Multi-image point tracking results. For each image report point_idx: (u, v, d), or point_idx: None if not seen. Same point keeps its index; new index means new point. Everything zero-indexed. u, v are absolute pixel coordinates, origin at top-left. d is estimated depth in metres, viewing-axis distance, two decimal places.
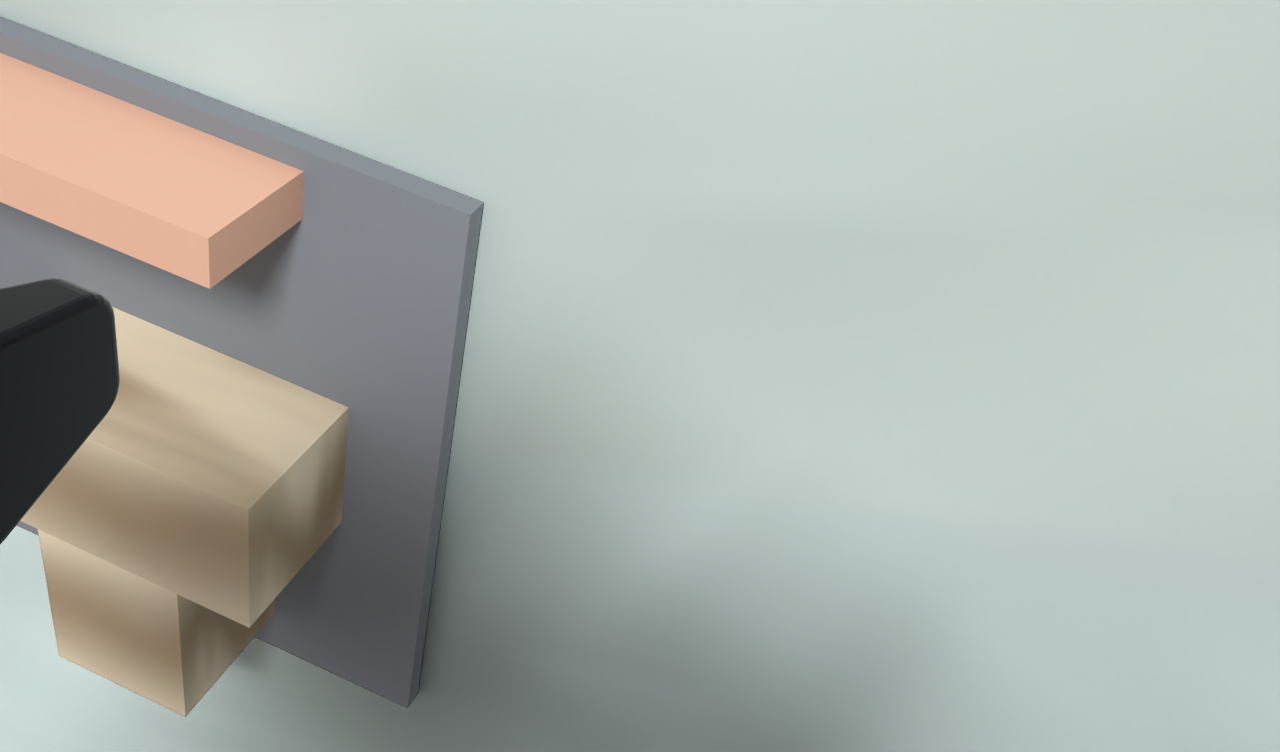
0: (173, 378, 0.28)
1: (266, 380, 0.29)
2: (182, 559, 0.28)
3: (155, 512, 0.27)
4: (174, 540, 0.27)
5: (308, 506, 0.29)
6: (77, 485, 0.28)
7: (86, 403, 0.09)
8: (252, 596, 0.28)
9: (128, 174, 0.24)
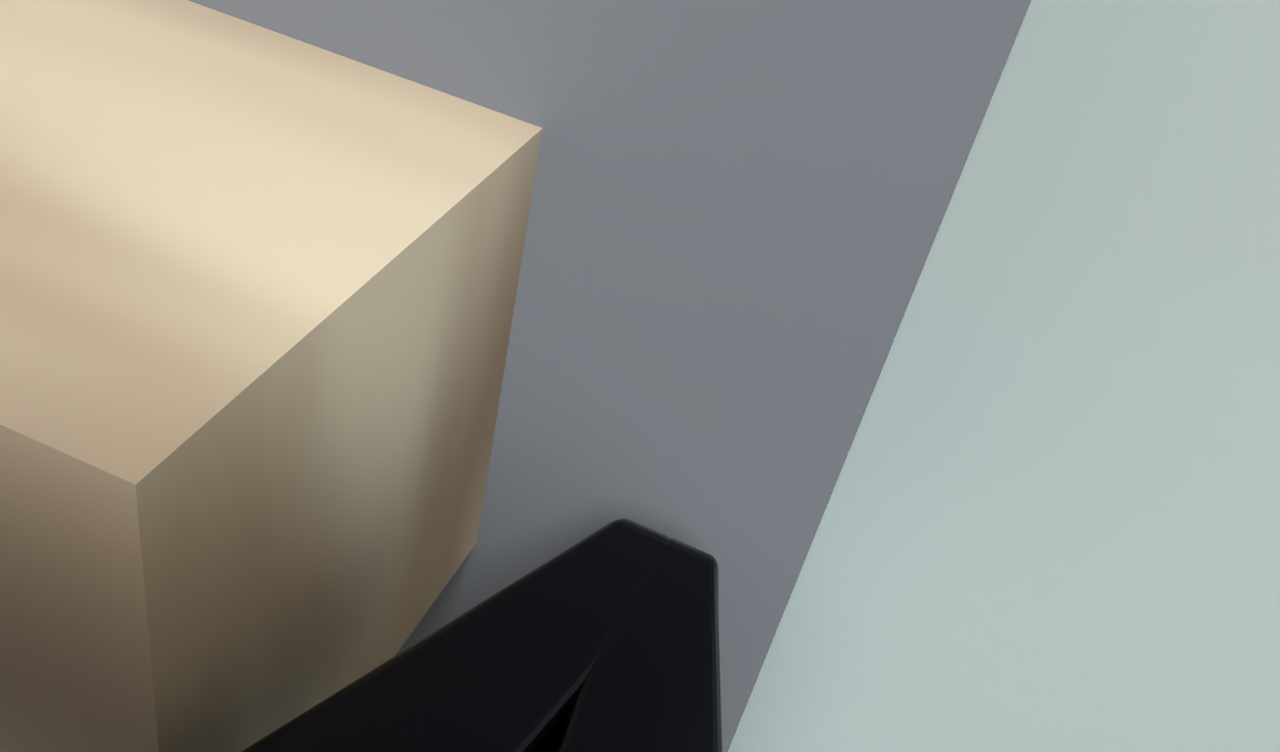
0: None
1: (245, 39, 0.08)
2: None
3: None
4: None
5: (399, 486, 0.08)
6: None
7: None
8: None
9: None
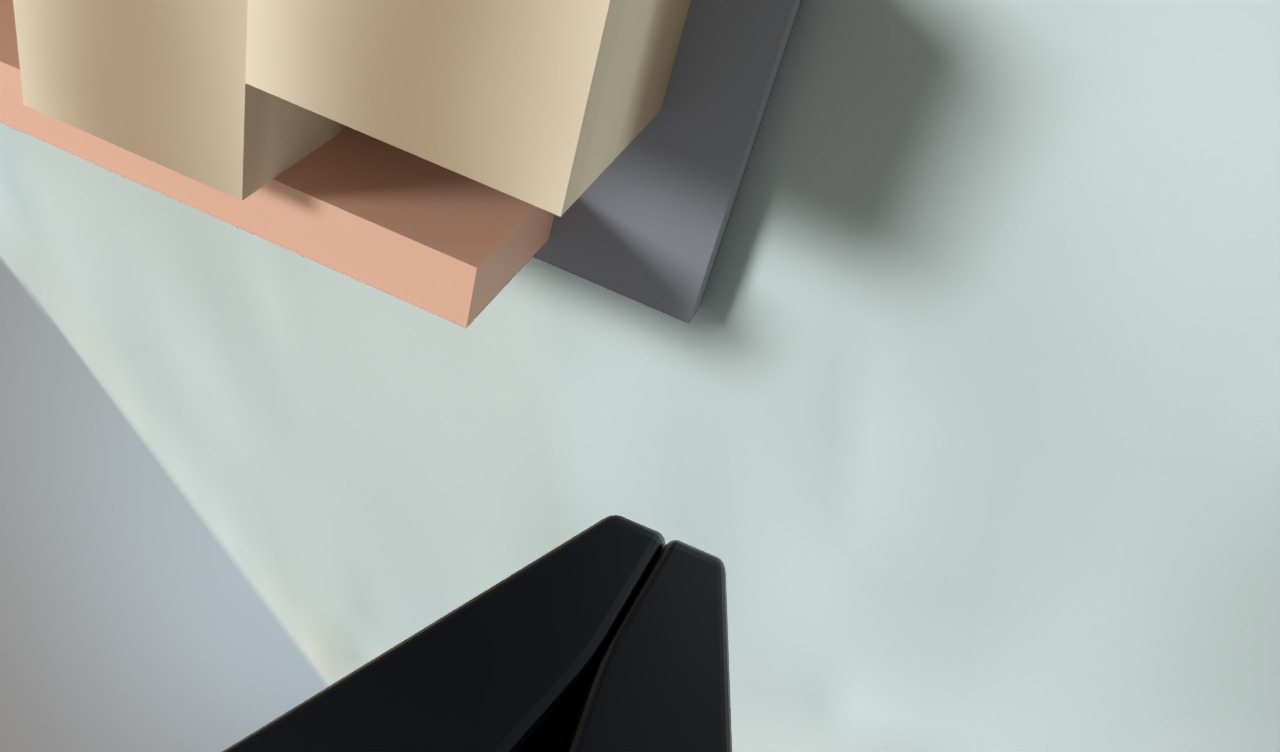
0: None
1: None
2: None
3: None
4: None
5: None
6: None
7: None
8: None
9: None
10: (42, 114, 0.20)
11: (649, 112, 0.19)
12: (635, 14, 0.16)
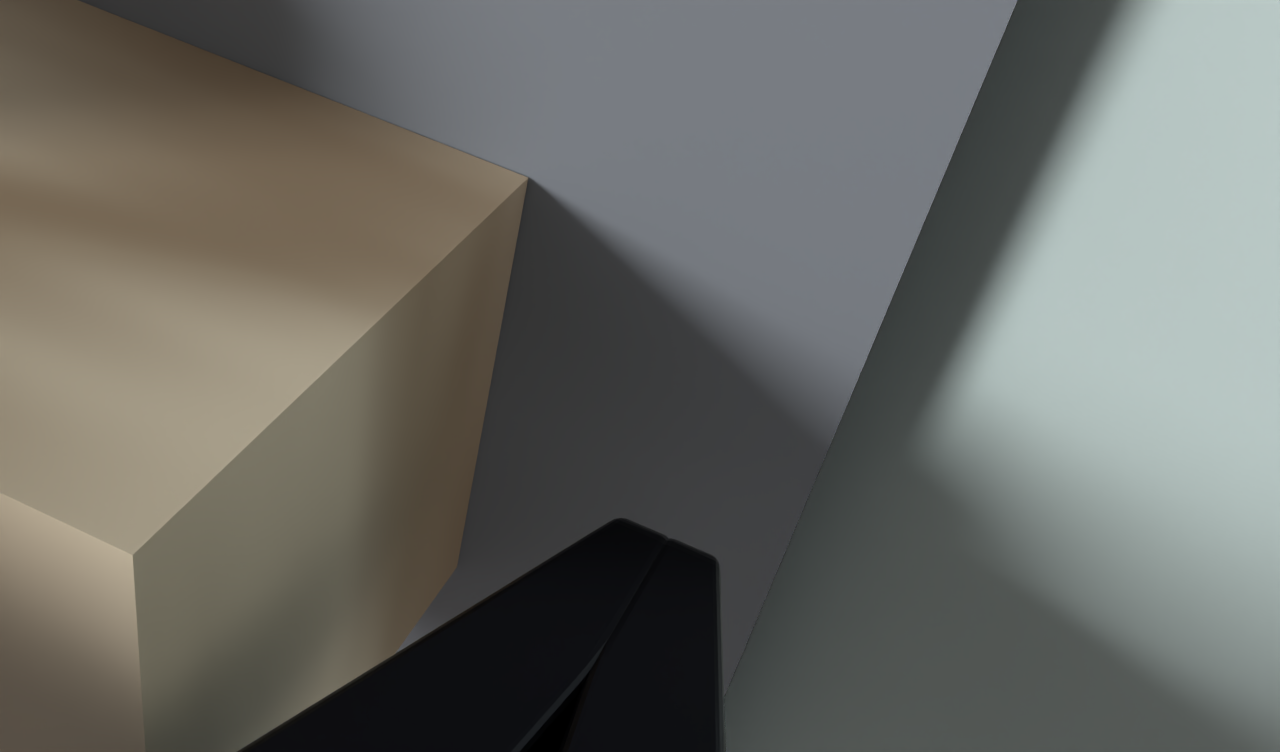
0: None
1: None
2: None
3: None
4: None
5: None
6: None
7: None
8: None
9: None
10: None
11: (421, 602, 0.10)
12: (286, 586, 0.07)
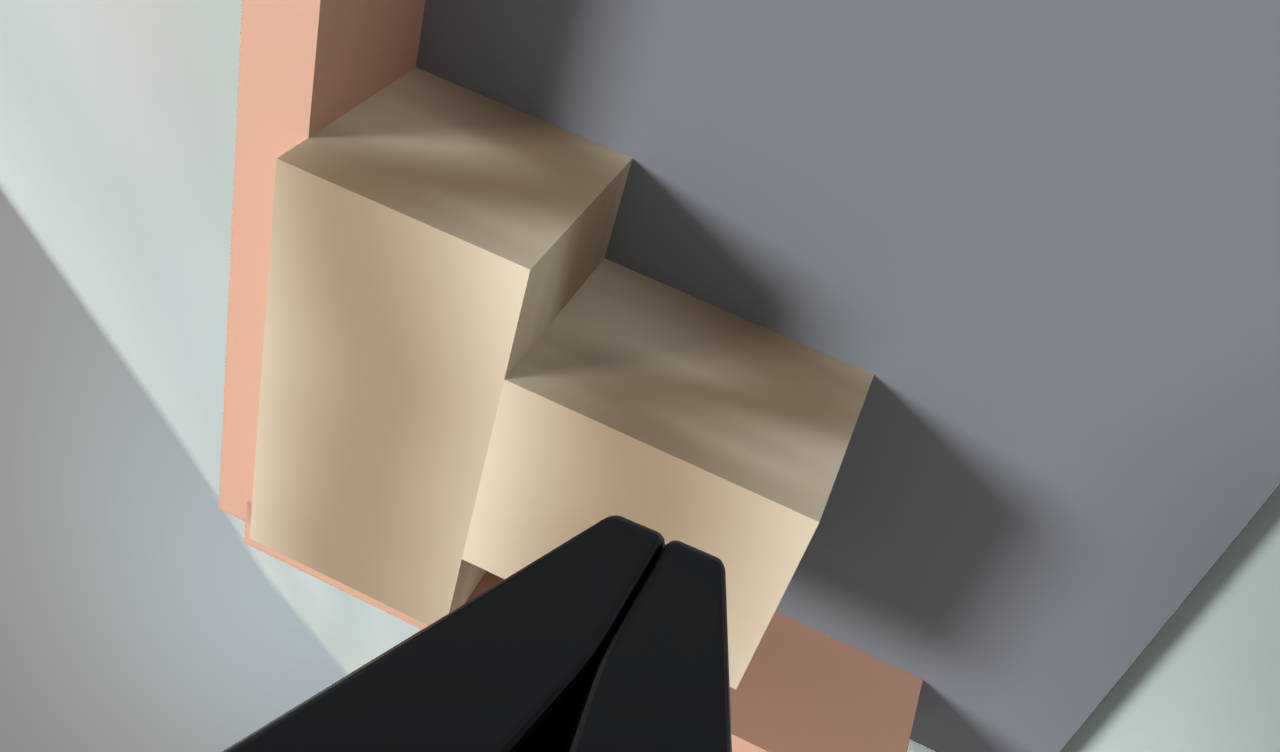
0: None
1: None
2: (423, 331, 0.18)
3: (348, 333, 0.18)
4: (391, 327, 0.18)
5: (478, 148, 0.19)
6: (350, 441, 0.20)
7: None
8: (471, 237, 0.17)
9: None
10: None
11: None
12: None
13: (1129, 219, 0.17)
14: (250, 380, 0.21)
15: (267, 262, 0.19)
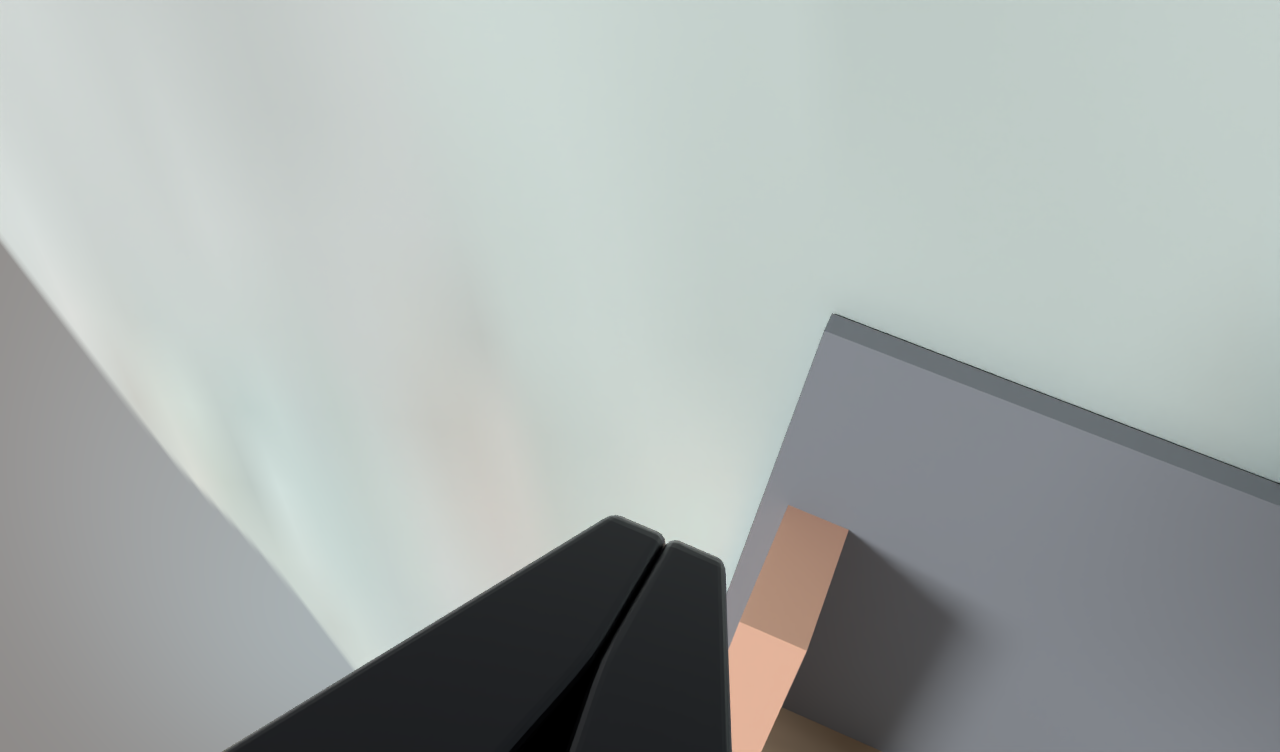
0: None
1: None
2: None
3: None
4: None
5: None
6: None
7: None
8: None
9: None
10: None
11: None
12: None
13: None
14: None
15: None
